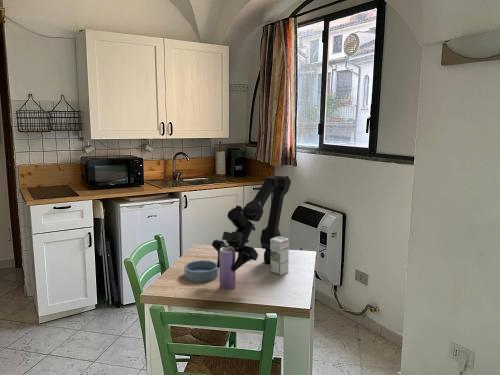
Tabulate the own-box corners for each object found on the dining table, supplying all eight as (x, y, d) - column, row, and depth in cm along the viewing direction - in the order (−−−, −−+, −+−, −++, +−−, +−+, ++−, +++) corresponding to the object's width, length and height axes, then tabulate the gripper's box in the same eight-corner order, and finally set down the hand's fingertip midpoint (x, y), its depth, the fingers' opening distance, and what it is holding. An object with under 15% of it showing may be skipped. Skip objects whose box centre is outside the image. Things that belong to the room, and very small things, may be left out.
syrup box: (289, 271, 170) (289, 238, 168) (280, 275, 166) (280, 241, 163) (278, 268, 174) (278, 235, 172) (269, 272, 170) (269, 238, 167)
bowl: (221, 270, 172) (221, 261, 171) (213, 282, 158) (213, 273, 158) (190, 268, 174) (190, 259, 173) (180, 280, 160) (180, 271, 160)
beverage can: (229, 291, 150) (229, 252, 148) (216, 288, 153) (216, 250, 151) (238, 286, 155) (238, 248, 153) (225, 283, 158) (225, 246, 156)
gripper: (214, 219, 159) (195, 254, 151) (254, 226, 148) (236, 264, 141) (226, 234, 166) (209, 268, 159) (265, 242, 156) (249, 278, 149)
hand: (225, 269), depth 152 cm, fingers open, 7 cm apart
